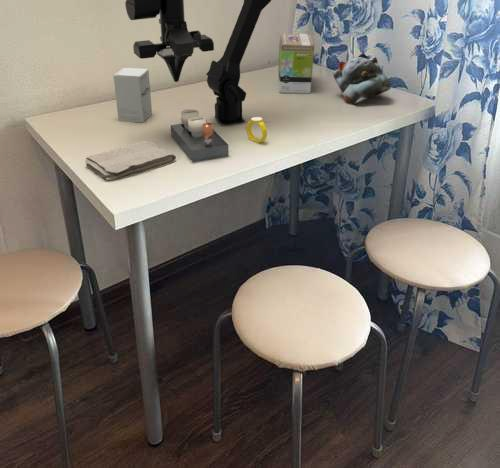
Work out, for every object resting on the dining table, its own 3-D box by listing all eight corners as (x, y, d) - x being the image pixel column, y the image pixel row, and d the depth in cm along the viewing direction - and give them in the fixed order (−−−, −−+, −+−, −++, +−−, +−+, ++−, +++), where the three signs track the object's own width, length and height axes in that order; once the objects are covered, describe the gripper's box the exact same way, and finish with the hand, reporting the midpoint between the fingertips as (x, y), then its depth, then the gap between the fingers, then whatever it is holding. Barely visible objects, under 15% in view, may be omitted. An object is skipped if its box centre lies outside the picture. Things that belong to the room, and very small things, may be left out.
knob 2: (203, 136, 145) (202, 114, 142) (209, 142, 142) (208, 120, 139) (186, 139, 144) (185, 117, 141) (192, 145, 140) (191, 123, 137)
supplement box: (143, 123, 156) (139, 76, 149) (117, 120, 157) (112, 74, 150) (153, 113, 162) (149, 68, 155) (128, 111, 163) (123, 66, 156)
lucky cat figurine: (345, 107, 167) (332, 59, 165) (340, 109, 179) (328, 65, 177) (396, 91, 166) (383, 43, 164) (387, 95, 178) (375, 50, 176)
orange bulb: (211, 142, 137) (210, 122, 134) (214, 146, 135) (214, 125, 133) (201, 144, 136) (200, 123, 134) (205, 147, 134) (204, 127, 132)
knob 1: (196, 128, 149) (195, 107, 146) (201, 134, 146) (201, 113, 143) (179, 131, 148) (178, 110, 145) (185, 137, 144) (184, 115, 141)
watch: (245, 140, 147) (243, 117, 144) (253, 137, 148) (251, 114, 146) (261, 145, 143) (260, 122, 140) (269, 142, 145) (268, 119, 142)
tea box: (311, 93, 177) (314, 44, 169) (278, 93, 177) (280, 44, 169) (308, 79, 190) (311, 32, 182) (277, 78, 190) (279, 32, 182)
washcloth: (82, 167, 133) (80, 155, 132) (149, 147, 143) (148, 135, 141) (108, 185, 125) (106, 172, 124) (177, 163, 135) (176, 151, 134)
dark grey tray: (204, 131, 151) (204, 120, 149) (228, 156, 138) (228, 144, 136) (171, 136, 148) (170, 125, 146) (192, 162, 135) (191, 150, 133)
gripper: (143, 26, 127) (149, 96, 135) (222, 19, 133) (223, 85, 142) (129, 16, 135) (136, 82, 143) (204, 10, 142) (206, 73, 150)
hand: (176, 81), depth 144 cm, fingers closed
